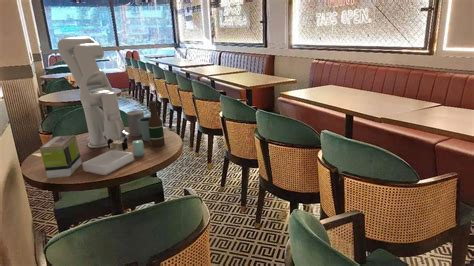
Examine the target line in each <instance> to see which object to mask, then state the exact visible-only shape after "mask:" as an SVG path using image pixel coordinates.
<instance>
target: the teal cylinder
mask: <svg viewBox="0 0 474 266" xmlns="http://www.w3.org/2000/svg"><path fill="white" fill-rule="evenodd" d="M131 143H132V149H133V157H136V158H137V157H142V156H144V155H145V153H146V152H145V147H144V141H143V139H136V140H132V142H131Z"/></svg>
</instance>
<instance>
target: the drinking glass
mask: <svg viewBox="0 0 474 266" xmlns="http://www.w3.org/2000/svg"><path fill="white" fill-rule="evenodd" d="M149 119H150V116H144V118H141V119H139V120H138V122H139V126H140V128H141V133H142V135H141V137H142V141H143V140H144V141H143V142H150V135H149V127H148V122H149Z"/></svg>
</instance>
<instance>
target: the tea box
mask: <svg viewBox="0 0 474 266" xmlns="http://www.w3.org/2000/svg"><path fill="white" fill-rule="evenodd" d="M39 150H40V154H41V158H42V161H43V166H44V169H45V174H46V177H47V178H48V179H53V178H54V179H55V178H65V177H70V176H71V175H72V174H73V173H74V172H75V171H76V170H77V169H78V168H79V167H80V166H81V165H82V163H83V162H82V161H83V160H82V157H81V153H80V149H79V145H78V139H77V137H76V134H72V135H61V136H53V137H52V138H51V139H50V140H48V141H47V142H45V143H44V144H43V145H42V146H40V147H39Z"/></svg>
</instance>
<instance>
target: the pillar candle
mask: <svg viewBox="0 0 474 266" xmlns="http://www.w3.org/2000/svg"><path fill="white" fill-rule="evenodd" d="M144 117H145V114H144V110H141V109H140V110H139V109H137V110H135V109H134V110H130V111H127V112H126V118H127V123H128V124H127V125H128V131H129V132H128V133H129V136H131V137H140V136H141V137H142V133H141V128H140V126H139V122H138V120H139V119H141V118H144Z"/></svg>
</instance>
